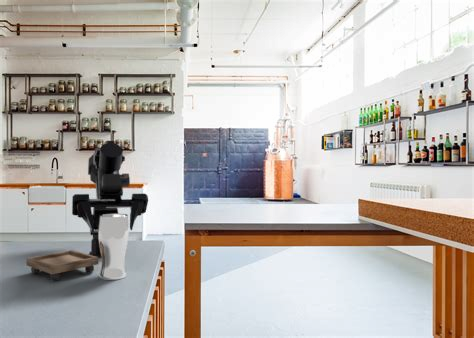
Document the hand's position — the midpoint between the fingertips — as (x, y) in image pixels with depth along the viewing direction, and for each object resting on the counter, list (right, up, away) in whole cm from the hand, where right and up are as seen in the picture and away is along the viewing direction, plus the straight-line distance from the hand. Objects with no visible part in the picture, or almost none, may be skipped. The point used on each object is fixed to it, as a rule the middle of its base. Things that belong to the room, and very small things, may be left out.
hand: (112, 230), depth 99 cm
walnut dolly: (-12, -11, 0) cm, 16 cm away
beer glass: (+1, -11, -2) cm, 11 cm away
